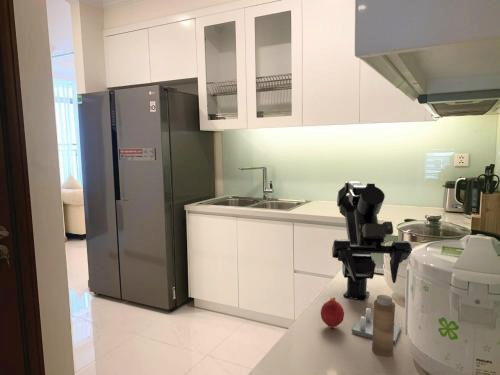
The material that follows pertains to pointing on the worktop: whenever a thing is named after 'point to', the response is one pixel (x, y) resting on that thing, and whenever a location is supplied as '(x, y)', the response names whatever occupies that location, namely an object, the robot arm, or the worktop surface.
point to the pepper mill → (383, 325)
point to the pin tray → (370, 326)
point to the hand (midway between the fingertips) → (374, 281)
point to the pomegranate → (332, 313)
